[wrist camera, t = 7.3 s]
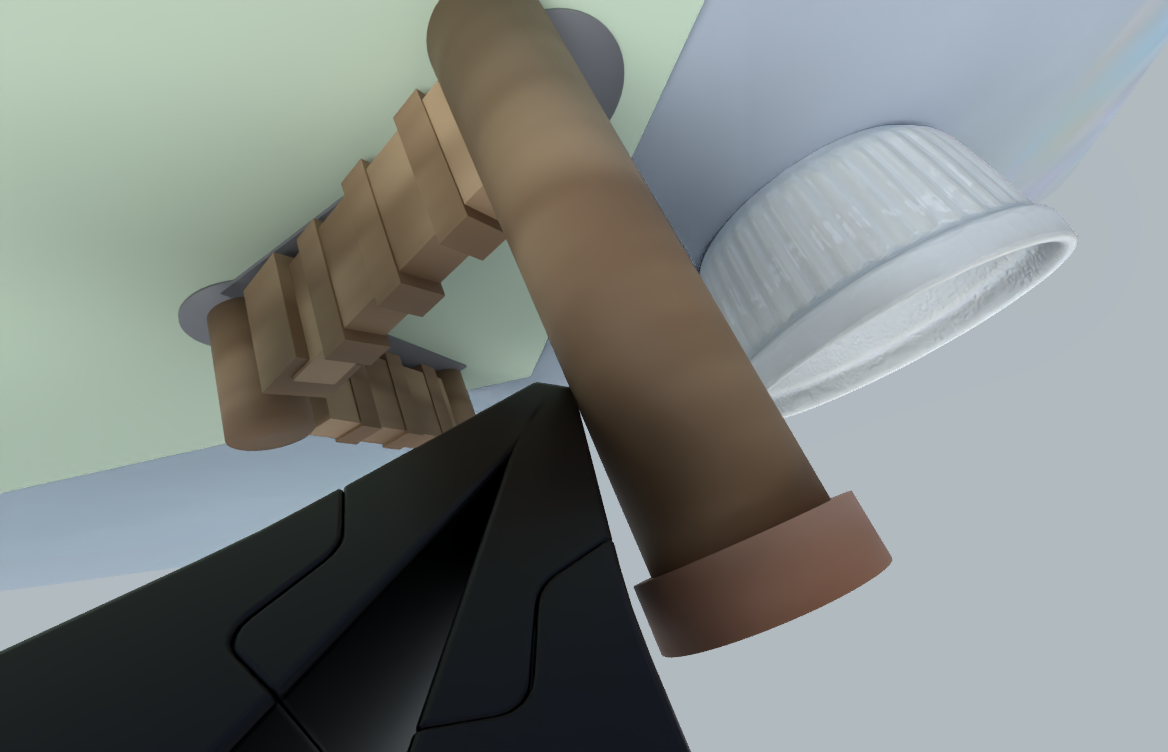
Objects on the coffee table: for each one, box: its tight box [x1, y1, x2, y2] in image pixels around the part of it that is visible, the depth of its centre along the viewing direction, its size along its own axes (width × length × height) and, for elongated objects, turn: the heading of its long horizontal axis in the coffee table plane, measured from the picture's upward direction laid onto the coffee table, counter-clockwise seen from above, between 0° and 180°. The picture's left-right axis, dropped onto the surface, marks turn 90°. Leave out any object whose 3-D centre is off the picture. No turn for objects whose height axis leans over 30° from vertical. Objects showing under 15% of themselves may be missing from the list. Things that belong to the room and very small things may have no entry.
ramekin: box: [700, 125, 1078, 418], centre depth 23 cm, size 13×13×7 cm
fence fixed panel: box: [207, 297, 475, 451], centre depth 18 cm, size 10×2×4 cm, turn 23°
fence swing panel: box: [243, 0, 892, 657], centre depth 10 cm, size 10×3×11 cm, turn 126°
